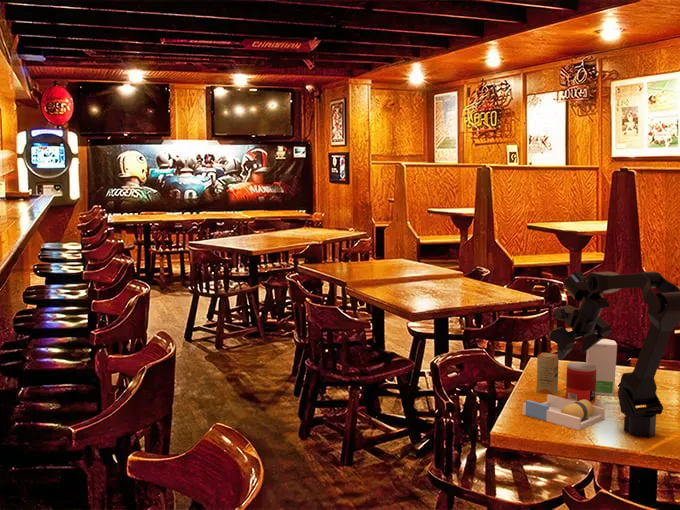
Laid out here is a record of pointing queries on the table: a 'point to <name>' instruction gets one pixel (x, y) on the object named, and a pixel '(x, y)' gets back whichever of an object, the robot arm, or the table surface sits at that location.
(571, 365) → the canned food
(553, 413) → the white storage bin
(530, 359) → the table surface
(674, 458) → the table surface
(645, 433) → the robot arm
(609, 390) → the skincare box
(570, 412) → the banded tan cylinder
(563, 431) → the table surface
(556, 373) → the shoe polish box
